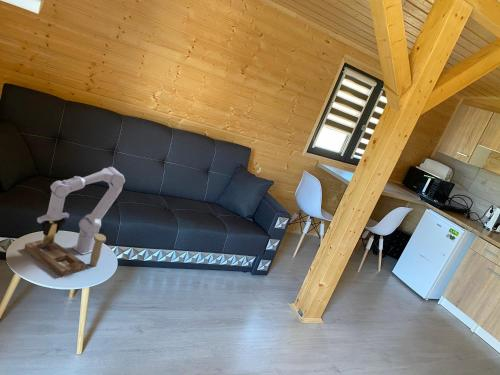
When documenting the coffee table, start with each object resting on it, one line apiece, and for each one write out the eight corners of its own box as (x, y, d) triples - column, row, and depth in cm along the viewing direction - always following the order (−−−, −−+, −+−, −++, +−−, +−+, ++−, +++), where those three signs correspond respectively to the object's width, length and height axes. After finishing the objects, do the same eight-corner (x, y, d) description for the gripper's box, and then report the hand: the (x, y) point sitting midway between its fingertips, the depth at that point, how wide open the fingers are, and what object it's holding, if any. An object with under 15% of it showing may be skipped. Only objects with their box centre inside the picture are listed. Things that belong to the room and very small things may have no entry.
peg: (49, 238, 178) (53, 219, 176) (55, 242, 177) (60, 223, 174) (40, 240, 174) (45, 221, 172) (47, 245, 173) (51, 225, 170)
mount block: (48, 243, 185) (49, 238, 184) (84, 269, 175) (85, 263, 175) (24, 249, 174) (25, 243, 174) (61, 277, 165) (62, 271, 164)
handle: (90, 268, 177) (97, 240, 174) (85, 261, 182) (92, 233, 178) (100, 267, 181) (107, 240, 177) (95, 260, 185) (102, 233, 181)
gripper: (64, 201, 179) (58, 226, 182) (35, 205, 166) (29, 232, 169) (74, 207, 176) (68, 233, 180) (45, 212, 163) (39, 240, 167)
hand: (50, 233), depth 174 cm, fingers closed on peg, 4 cm apart
